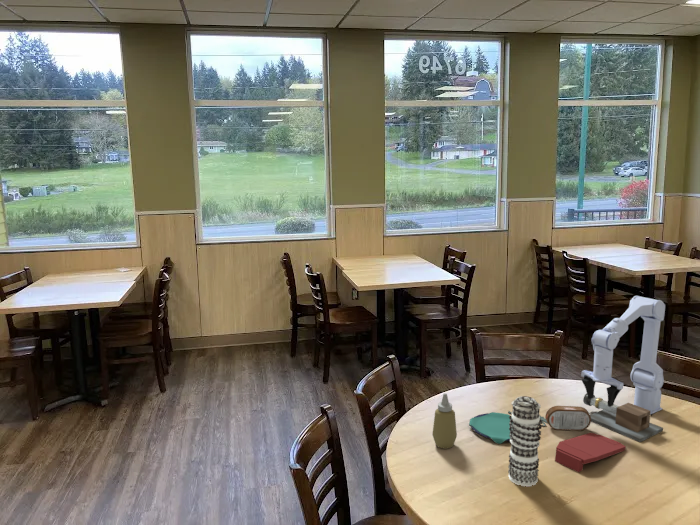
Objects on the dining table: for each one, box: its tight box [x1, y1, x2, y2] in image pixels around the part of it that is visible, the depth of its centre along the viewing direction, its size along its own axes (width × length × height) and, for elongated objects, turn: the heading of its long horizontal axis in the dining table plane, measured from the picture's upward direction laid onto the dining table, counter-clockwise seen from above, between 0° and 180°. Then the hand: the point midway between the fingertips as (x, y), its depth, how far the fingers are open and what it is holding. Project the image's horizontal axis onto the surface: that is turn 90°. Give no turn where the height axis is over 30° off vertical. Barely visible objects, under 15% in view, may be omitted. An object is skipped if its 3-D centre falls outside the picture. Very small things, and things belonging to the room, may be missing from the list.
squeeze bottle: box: [432, 393, 458, 450], centre depth 182 cm, size 8×8×18 cm
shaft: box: [582, 392, 620, 414], centre depth 199 cm, size 4×18×4 cm, turn 32°
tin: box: [544, 405, 592, 432], centre depth 192 cm, size 15×3×8 cm, turn 84°
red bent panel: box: [554, 432, 627, 473], centre depth 177 cm, size 12×5×25 cm
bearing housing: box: [590, 402, 664, 443], centre depth 195 cm, size 14×20×7 cm
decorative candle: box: [507, 395, 543, 487], centre depth 161 cm, size 9×9×25 cm
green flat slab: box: [468, 410, 548, 445], centre depth 196 cm, size 20×30×2 cm, turn 118°
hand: (600, 401), depth 191 cm, fingers open, 7 cm apart
